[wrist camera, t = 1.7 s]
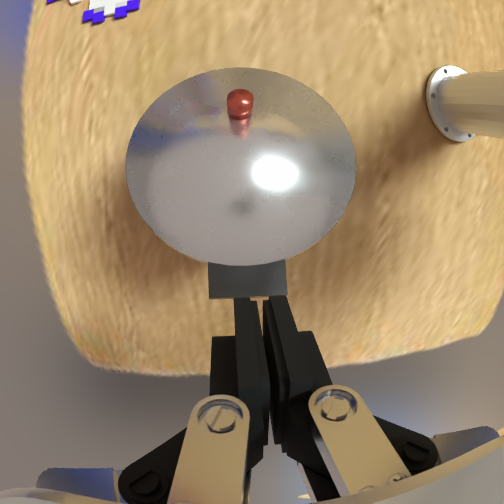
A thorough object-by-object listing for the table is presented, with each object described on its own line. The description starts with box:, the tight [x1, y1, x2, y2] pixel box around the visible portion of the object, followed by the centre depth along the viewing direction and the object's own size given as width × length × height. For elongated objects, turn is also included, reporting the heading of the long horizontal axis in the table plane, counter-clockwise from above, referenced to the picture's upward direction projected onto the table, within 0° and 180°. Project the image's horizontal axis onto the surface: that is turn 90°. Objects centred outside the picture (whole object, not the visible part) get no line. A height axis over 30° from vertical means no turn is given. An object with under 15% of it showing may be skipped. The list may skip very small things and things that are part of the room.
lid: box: [126, 68, 356, 299], centre depth 21 cm, size 18×20×3 cm
